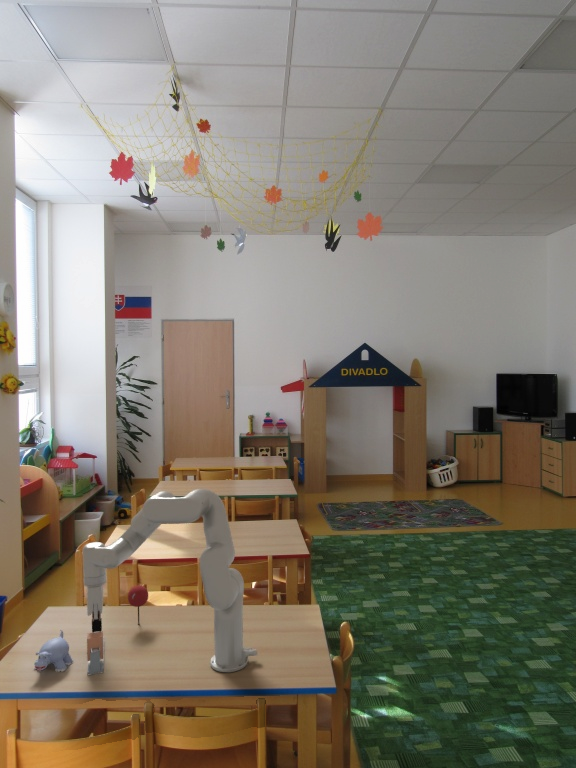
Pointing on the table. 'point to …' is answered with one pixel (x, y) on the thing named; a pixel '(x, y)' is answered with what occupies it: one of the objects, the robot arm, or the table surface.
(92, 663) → the rail
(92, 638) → the collar
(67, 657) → the hippopotamus toy
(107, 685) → the table surface
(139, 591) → the lollipop
